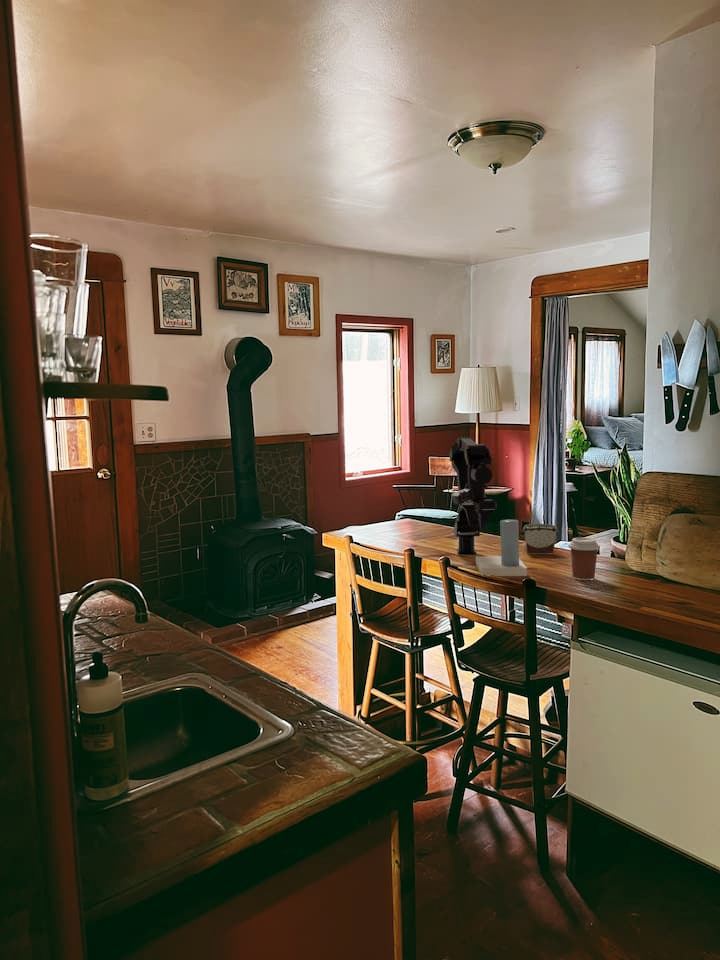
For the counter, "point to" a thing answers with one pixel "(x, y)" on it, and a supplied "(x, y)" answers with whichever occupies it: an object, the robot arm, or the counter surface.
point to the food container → (540, 538)
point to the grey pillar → (509, 542)
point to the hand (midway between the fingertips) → (476, 527)
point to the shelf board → (499, 567)
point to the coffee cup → (583, 558)
